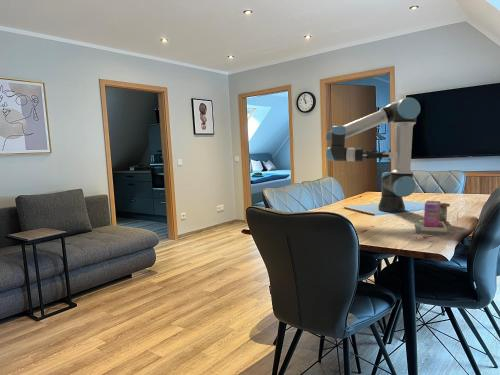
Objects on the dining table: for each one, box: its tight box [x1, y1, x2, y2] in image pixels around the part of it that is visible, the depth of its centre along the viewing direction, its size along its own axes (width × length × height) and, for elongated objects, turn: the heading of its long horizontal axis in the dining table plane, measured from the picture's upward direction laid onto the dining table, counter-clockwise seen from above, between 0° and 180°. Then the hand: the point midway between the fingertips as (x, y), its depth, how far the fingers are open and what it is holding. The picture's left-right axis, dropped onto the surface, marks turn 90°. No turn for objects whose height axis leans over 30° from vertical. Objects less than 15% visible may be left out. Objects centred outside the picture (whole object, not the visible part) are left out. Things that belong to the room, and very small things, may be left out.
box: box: [423, 200, 441, 228], centre depth 170 cm, size 10×6×12 cm, turn 148°
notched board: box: [414, 219, 452, 235], centre depth 171 cm, size 14×17×3 cm
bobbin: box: [439, 202, 451, 226], centre depth 182 cm, size 6×6×10 cm
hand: (397, 155), depth 192 cm, fingers open, 13 cm apart
